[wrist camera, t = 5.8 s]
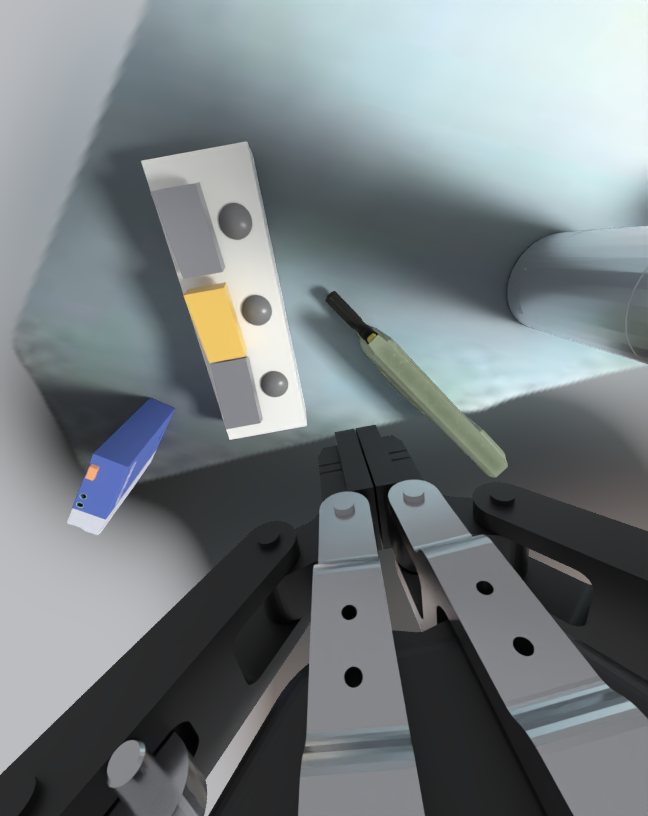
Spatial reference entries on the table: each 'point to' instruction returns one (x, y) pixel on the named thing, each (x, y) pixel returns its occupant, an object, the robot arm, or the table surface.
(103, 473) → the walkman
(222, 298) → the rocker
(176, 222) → the grey flat block
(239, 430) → the power strip
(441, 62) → the table surface
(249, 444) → the table surface
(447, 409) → the handheld radio
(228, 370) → the block
